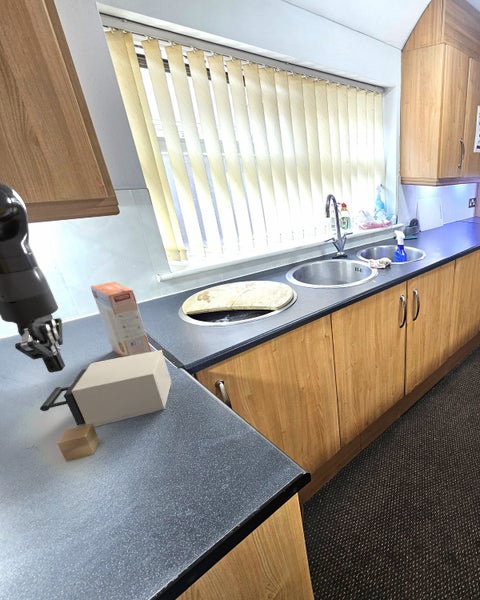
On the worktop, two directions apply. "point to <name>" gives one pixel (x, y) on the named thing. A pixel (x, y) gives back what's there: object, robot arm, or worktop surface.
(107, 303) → the cracker box
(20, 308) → the robot arm
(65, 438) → the block
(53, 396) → the dark grey drawer
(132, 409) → the cream rectangular box
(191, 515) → the worktop surface
